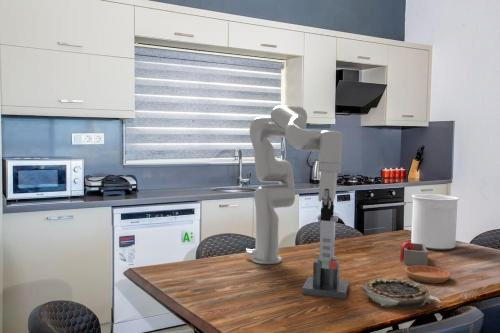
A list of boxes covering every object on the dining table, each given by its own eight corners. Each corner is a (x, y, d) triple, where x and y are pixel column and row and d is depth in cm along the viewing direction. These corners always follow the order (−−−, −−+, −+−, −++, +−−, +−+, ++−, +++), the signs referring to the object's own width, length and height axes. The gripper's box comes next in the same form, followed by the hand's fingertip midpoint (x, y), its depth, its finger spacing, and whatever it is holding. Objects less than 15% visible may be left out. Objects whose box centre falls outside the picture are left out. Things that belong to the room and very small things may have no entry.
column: (316, 267, 156) (317, 217, 155) (317, 264, 161) (319, 214, 160) (335, 269, 154) (337, 218, 153) (336, 265, 159) (338, 216, 158)
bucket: (466, 252, 216) (469, 200, 215) (419, 251, 217) (422, 199, 215) (444, 240, 242) (446, 194, 241) (402, 239, 242) (404, 193, 241)
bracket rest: (404, 264, 193) (404, 250, 193) (402, 255, 208) (402, 242, 208) (427, 266, 191) (427, 252, 190) (423, 257, 206) (424, 243, 206)
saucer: (448, 275, 180) (449, 267, 180) (452, 287, 165) (452, 279, 164) (405, 270, 185) (405, 263, 185) (404, 282, 170) (405, 274, 170)
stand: (302, 293, 153) (303, 260, 153) (308, 281, 167) (309, 250, 166) (345, 298, 150) (346, 264, 149) (348, 285, 163) (349, 254, 162)
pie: (460, 312, 141) (460, 296, 141) (381, 321, 133) (382, 304, 133) (404, 284, 168) (405, 270, 168) (336, 290, 160) (336, 276, 160)
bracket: (408, 263, 195) (409, 244, 194) (399, 260, 198) (401, 242, 198) (427, 260, 201) (428, 242, 200) (418, 258, 205) (420, 240, 204)
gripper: (321, 165, 165) (319, 212, 166) (314, 168, 148) (312, 221, 150) (342, 166, 163) (340, 214, 164) (338, 170, 146) (335, 223, 148)
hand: (327, 217), depth 157 cm, fingers open, 9 cm apart
